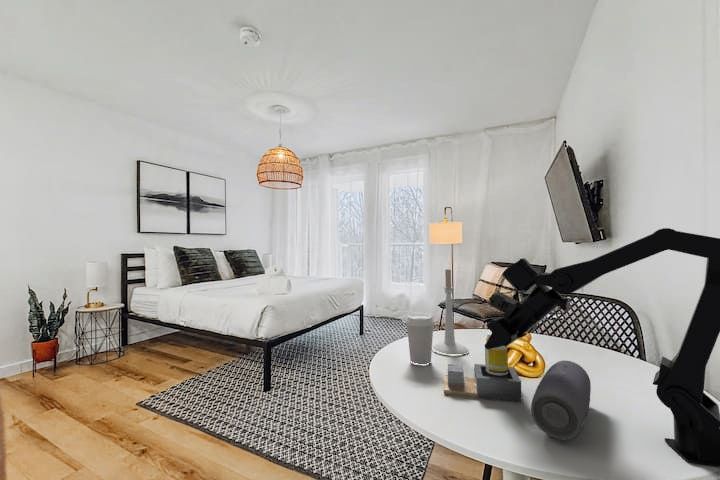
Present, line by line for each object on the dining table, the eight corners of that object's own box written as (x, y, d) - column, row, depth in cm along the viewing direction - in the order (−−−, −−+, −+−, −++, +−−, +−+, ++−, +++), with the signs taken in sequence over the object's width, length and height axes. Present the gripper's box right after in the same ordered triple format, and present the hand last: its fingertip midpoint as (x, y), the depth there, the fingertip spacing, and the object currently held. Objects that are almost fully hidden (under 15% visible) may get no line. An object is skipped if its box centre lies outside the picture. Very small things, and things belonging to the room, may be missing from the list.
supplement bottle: (513, 375, 80) (511, 335, 80) (493, 377, 79) (492, 337, 79) (499, 367, 85) (498, 330, 85) (481, 369, 84) (480, 332, 84)
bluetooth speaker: (548, 394, 80) (546, 354, 81) (593, 405, 74) (592, 362, 75) (527, 436, 63) (526, 385, 63) (585, 454, 57) (583, 398, 57)
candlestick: (470, 357, 108) (468, 269, 109) (431, 355, 111) (429, 269, 112) (466, 346, 120) (464, 267, 121) (432, 344, 123) (430, 267, 124)
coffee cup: (401, 365, 102) (400, 318, 102) (411, 356, 110) (410, 312, 111) (431, 370, 97) (430, 320, 98) (438, 360, 106) (437, 315, 106)
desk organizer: (521, 403, 76) (521, 381, 76) (443, 394, 81) (443, 373, 81) (514, 385, 85) (513, 366, 85) (445, 379, 90) (444, 360, 91)
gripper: (522, 279, 87) (484, 315, 94) (493, 285, 73) (452, 326, 81) (556, 311, 81) (513, 347, 88) (531, 324, 68) (483, 365, 75)
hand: (490, 345), depth 83 cm, fingers closed on supplement bottle, 5 cm apart
